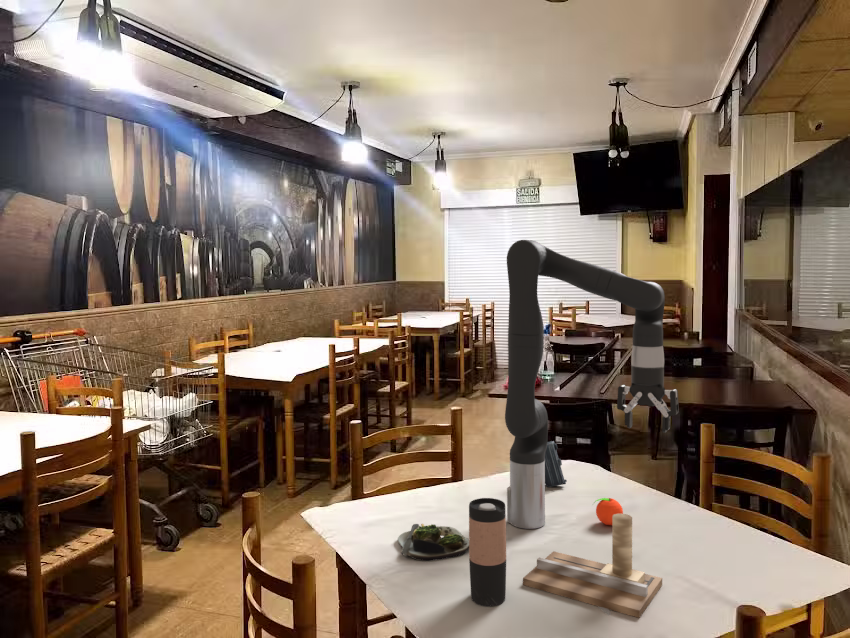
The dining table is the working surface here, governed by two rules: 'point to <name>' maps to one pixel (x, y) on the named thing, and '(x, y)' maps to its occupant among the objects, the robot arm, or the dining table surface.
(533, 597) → the dining table surface
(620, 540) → the post
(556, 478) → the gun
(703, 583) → the dining table surface
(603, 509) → the clementine
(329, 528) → the dining table surface
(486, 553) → the travel mug
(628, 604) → the board
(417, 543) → the salad plate
